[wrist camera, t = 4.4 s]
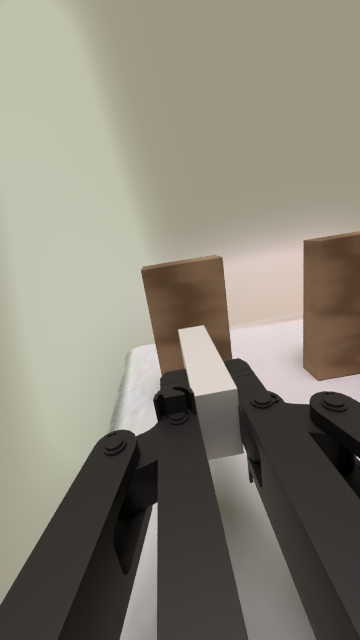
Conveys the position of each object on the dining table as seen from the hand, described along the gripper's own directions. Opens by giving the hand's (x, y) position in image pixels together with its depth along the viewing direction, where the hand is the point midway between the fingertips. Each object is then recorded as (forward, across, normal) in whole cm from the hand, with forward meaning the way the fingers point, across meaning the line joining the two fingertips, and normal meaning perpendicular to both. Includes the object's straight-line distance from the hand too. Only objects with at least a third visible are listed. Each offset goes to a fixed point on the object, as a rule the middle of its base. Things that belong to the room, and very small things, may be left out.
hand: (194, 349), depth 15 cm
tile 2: (+7, +14, -8) cm, 17 cm away
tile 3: (+7, 0, -8) cm, 10 cm away
